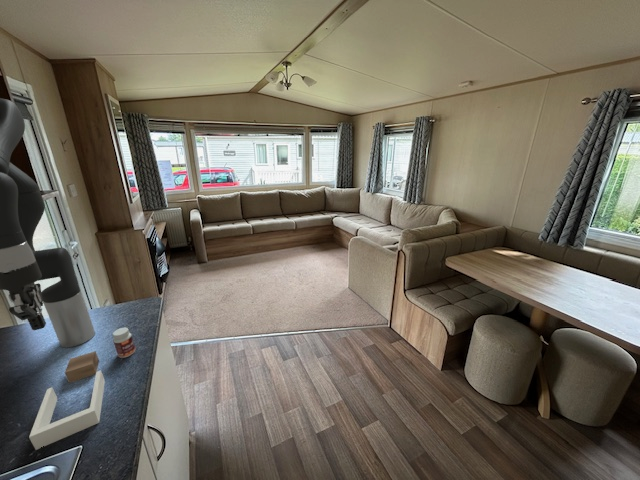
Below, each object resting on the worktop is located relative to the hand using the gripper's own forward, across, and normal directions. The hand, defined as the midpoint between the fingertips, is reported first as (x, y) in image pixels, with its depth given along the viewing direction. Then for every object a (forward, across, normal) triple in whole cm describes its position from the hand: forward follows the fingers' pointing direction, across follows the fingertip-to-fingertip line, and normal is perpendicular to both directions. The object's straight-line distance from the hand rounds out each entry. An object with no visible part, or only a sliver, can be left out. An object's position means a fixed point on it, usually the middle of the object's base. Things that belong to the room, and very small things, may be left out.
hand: (39, 327), depth 65 cm
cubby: (+21, +9, +3) cm, 23 cm away
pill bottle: (+21, -8, +13) cm, 26 cm away
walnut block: (+21, -6, +3) cm, 22 cm away
